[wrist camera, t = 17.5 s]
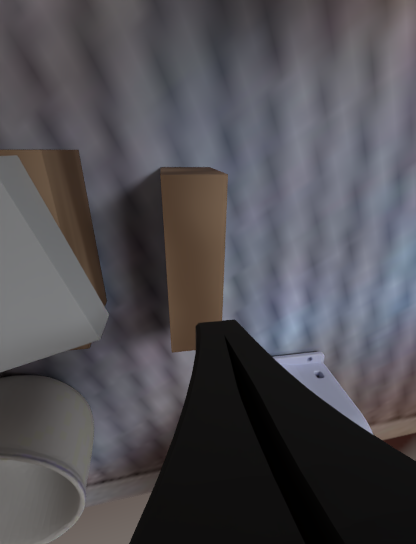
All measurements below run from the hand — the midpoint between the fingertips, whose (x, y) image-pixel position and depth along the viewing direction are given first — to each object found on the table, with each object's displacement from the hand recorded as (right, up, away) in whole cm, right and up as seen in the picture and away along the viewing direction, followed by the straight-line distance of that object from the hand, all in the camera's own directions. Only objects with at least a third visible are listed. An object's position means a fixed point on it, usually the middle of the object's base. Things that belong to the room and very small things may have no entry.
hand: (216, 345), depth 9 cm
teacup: (-15, -10, +14) cm, 23 cm away
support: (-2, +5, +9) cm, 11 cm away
